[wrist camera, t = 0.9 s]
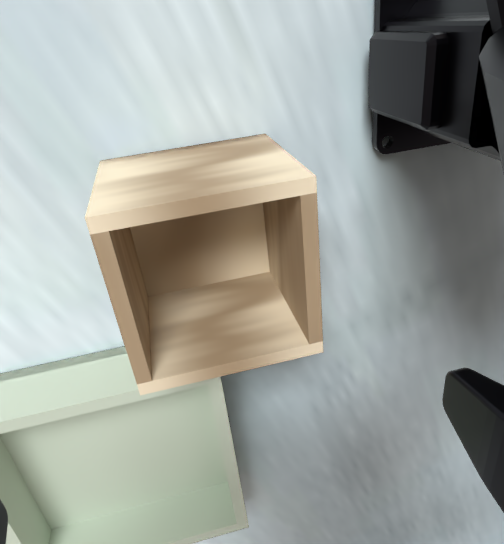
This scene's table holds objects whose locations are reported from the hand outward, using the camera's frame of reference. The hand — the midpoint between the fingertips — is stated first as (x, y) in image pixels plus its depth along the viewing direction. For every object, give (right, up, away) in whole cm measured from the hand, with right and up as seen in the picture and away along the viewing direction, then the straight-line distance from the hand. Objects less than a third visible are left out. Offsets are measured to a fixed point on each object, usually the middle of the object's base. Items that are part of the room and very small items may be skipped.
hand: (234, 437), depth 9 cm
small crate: (-2, +5, +10) cm, 12 cm away
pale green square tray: (-7, -5, +15) cm, 17 cm away
